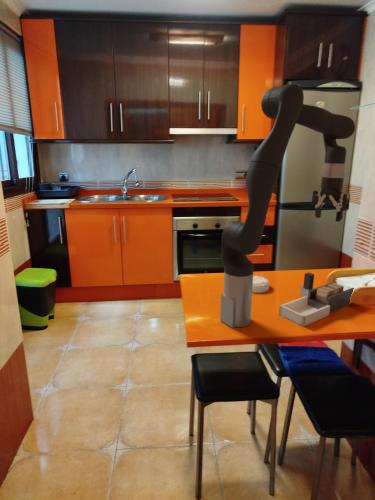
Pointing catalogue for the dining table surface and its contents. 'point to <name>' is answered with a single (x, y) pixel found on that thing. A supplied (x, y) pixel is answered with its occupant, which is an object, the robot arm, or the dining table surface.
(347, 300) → the slot block
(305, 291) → the scraper tool
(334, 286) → the chip
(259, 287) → the mooncake
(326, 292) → the chip
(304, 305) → the tray
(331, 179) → the robot arm
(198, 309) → the dining table surface
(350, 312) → the dining table surface
